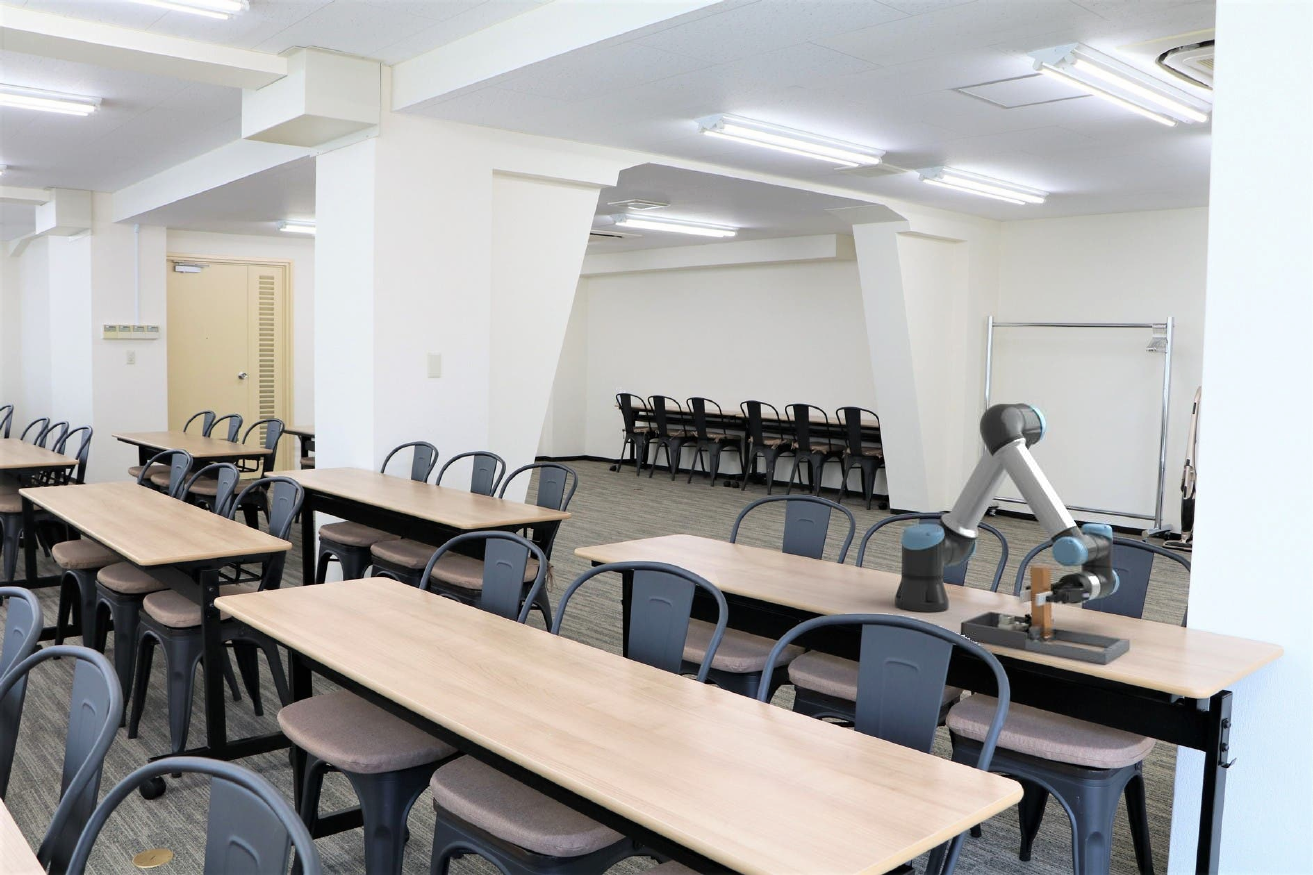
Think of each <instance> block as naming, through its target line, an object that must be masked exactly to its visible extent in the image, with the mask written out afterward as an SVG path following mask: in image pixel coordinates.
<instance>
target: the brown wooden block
mask: <svg viewBox="0 0 1313 875" xmlns="http://www.w3.org/2000/svg"><path fill="white" fill-rule="evenodd" d="M1029 568H1030V585H1031V601H1030V603H1031V605H1030V608H1031V609H1030V610H1031V612H1030V614H1031V613H1032V615H1031V616H1032V627H1030V628H1029V634H1028V635H1029V639H1032V640H1038V641H1043V642H1050V641H1053V640H1055V639H1054V628H1055V621H1054V618H1053V619H1052V617H1053V616H1052V615H1053V614H1052V610H1053V609H1052V603H1049V604H1045V605H1041V606H1035V604H1036V594H1040V593H1045V592H1049V591H1051V584H1052V577H1051V576H1052V574H1051V570H1052V569H1051V566H1044V565H1035V566H1030V567H1029Z"/></svg>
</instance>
